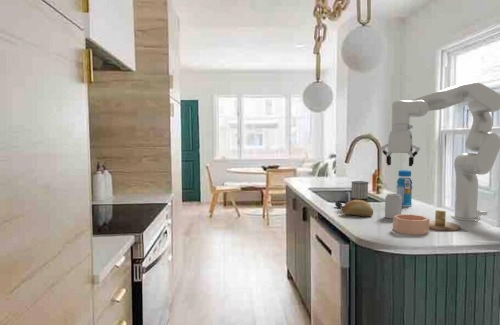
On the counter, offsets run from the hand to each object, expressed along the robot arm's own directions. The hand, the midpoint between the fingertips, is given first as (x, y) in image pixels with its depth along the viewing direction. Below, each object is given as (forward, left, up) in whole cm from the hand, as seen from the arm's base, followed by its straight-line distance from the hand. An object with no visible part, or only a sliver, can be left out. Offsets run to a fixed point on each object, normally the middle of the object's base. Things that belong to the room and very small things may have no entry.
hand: (399, 165), depth 192 cm
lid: (-14, +12, -26) cm, 32 cm away
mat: (-14, +12, -26) cm, 32 cm away
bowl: (+2, +19, -26) cm, 32 cm away
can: (0, -8, -27) cm, 28 cm away
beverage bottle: (-19, -45, -26) cm, 56 cm away
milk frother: (+13, -36, -27) cm, 47 cm away
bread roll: (+15, -16, -27) cm, 34 cm away
